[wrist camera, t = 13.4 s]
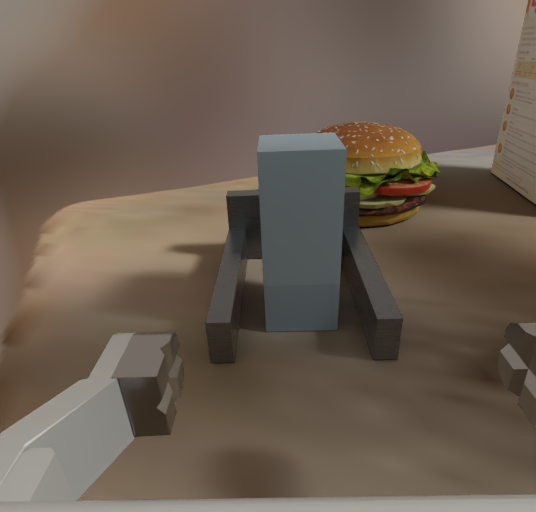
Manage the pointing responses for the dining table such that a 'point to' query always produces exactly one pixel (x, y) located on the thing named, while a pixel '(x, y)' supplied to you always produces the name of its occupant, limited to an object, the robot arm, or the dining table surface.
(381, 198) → the food
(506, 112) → the coffeecake box
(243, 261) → the rail channel
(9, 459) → the robot arm
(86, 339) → the dining table surface
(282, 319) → the pale blue rectangular prism
